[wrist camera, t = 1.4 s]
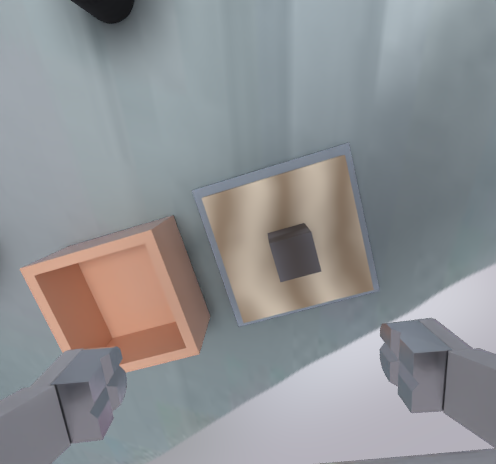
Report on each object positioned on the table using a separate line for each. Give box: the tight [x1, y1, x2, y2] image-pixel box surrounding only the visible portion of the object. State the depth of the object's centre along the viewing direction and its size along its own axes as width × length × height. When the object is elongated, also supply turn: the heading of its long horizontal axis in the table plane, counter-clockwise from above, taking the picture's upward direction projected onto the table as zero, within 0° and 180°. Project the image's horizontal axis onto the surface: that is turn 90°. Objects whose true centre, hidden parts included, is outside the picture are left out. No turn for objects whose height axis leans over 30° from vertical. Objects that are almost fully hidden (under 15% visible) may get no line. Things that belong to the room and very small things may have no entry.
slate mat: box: [192, 143, 380, 327], centre depth 32 cm, size 17×17×1 cm
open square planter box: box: [20, 215, 210, 372], centre depth 30 cm, size 13×13×7 cm
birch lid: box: [202, 155, 374, 323], centre depth 29 cm, size 15×15×5 cm
